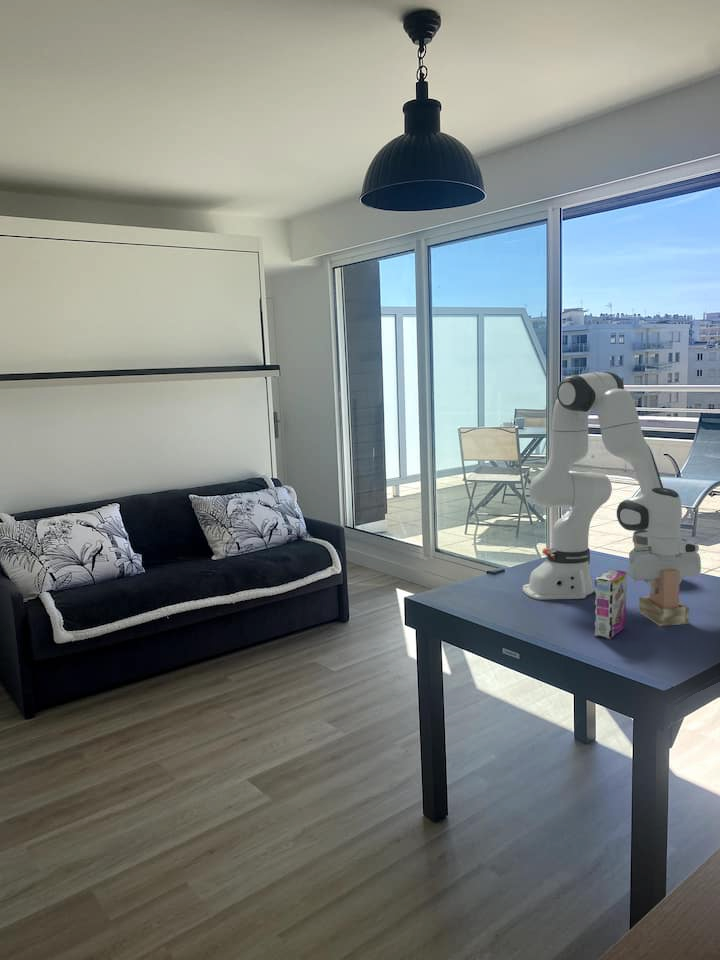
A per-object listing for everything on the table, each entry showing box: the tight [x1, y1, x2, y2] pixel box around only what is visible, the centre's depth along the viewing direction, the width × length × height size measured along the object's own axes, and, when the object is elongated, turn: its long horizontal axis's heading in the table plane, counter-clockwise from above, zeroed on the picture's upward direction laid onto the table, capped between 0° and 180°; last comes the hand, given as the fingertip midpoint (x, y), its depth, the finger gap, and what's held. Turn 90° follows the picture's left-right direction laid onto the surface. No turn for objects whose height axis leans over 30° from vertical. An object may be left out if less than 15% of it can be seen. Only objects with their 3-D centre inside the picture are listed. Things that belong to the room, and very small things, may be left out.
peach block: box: [649, 569, 680, 609], centre depth 208 cm, size 4×8×12 cm, turn 5°
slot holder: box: [638, 595, 690, 627], centre depth 209 cm, size 8×12×5 cm
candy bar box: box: [594, 569, 628, 640], centre depth 200 cm, size 11×5×16 cm, turn 141°
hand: (664, 592), depth 208 cm, fingers closed on peach block, 4 cm apart
